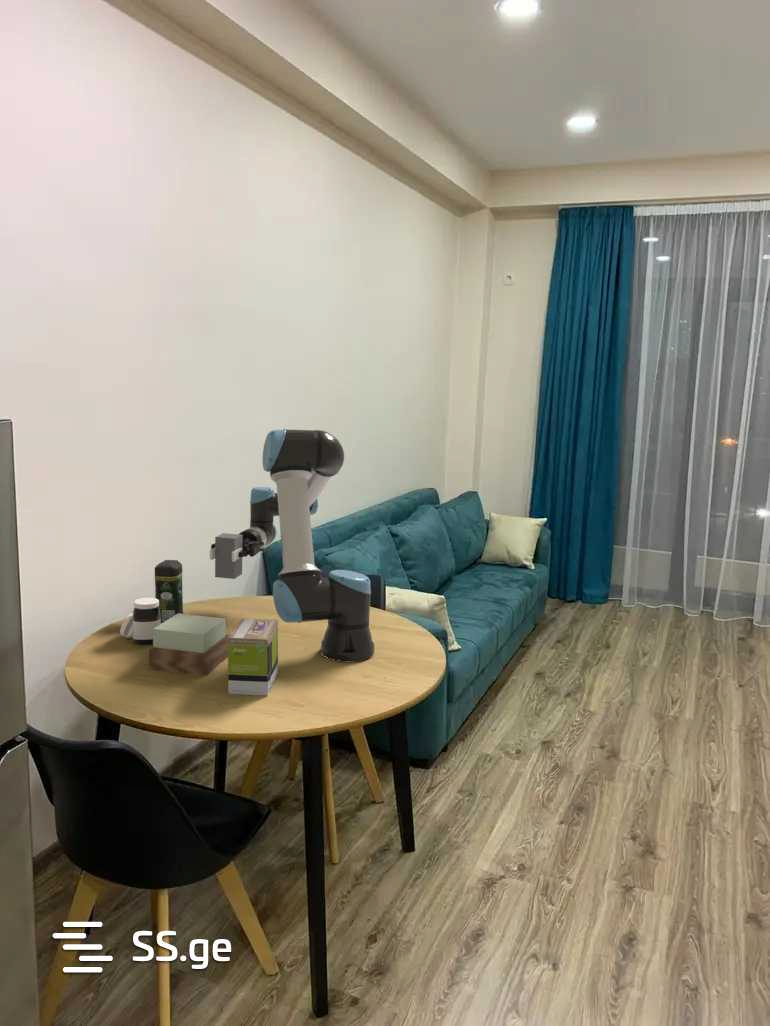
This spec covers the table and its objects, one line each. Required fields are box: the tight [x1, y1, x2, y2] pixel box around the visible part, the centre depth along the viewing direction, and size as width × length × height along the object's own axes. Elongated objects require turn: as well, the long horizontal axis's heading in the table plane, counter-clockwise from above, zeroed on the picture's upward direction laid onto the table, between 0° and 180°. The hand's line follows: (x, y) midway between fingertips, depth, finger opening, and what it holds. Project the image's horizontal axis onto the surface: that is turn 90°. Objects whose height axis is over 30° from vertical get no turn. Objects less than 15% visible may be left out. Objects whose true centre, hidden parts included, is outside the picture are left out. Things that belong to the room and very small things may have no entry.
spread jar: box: [119, 597, 162, 645], centre depth 217 cm, size 12×11×12 cm
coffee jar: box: [154, 559, 184, 624], centre depth 235 cm, size 10×8×19 cm
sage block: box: [152, 613, 227, 653], centre depth 201 cm, size 14×14×5 cm
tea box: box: [227, 618, 279, 696], centre depth 189 cm, size 15×10×15 cm
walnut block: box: [148, 634, 231, 677], centre depth 202 cm, size 16×16×6 cm
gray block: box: [214, 532, 243, 580], centre depth 223 cm, size 6×6×12 cm
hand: (222, 556), depth 218 cm, fingers closed on gray block, 6 cm apart
